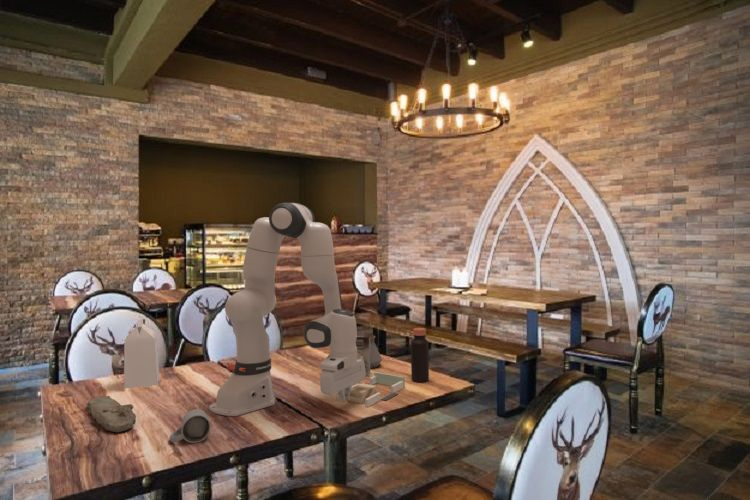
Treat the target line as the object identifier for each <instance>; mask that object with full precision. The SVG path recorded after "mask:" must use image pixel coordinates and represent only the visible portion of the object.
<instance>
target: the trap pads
mask: <svg viewBox="0 0 750 500" xmlns="http://www.w3.org/2000/svg"><path fill="white" fill-rule="evenodd" d="M364 384H369V385H370V383H367V382H365V383H364ZM398 395H399V393H397V392H395V393H389V394H388V395H386V396H385V397H383V398H382V397H381V400H380V401H383V402H387V401H389V400H391V399H392V398H394V397H396V396H398Z"/></svg>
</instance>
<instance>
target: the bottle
mask: <svg viewBox="0 0 750 500" xmlns="http://www.w3.org/2000/svg"><path fill="white" fill-rule="evenodd" d="M412 331H413V334H412V335H413V339H412V340H411V341H410V360H411V362H410V363H411V368H410V369H411V372H410V373H411V381H413V382H414V383H427V382H428V381H429V380H430V373H429V371H430V366H429V365H430V363H429V357H430V356H429V355H430V353H429V352H430V351H429V340H427V338H426V336H427V329H426V328H424V327H415V328H413V330H412Z"/></svg>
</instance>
